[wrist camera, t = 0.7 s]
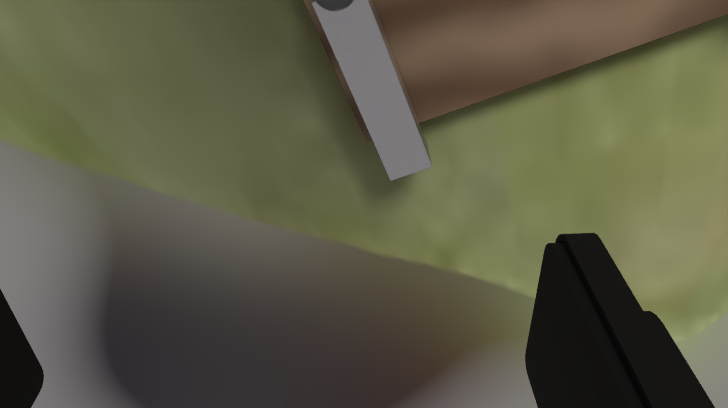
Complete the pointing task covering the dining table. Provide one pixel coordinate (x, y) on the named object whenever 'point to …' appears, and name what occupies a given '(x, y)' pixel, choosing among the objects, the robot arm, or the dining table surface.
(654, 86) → the dining table surface
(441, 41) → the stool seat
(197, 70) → the dining table surface
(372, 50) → the folding leg
